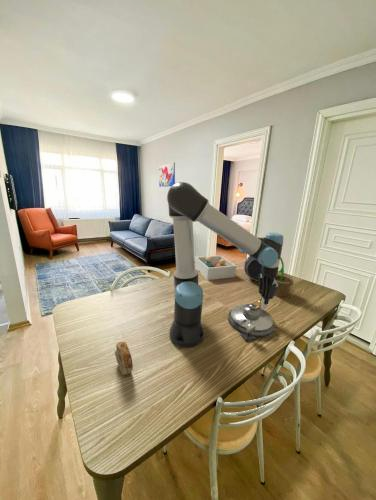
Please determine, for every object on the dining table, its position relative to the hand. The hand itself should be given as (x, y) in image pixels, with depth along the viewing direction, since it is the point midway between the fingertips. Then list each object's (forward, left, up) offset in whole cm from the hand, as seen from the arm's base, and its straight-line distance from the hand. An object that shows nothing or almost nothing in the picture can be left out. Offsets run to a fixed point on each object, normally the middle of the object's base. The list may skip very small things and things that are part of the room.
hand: (263, 308), depth 106 cm
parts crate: (+3, +61, -6) cm, 61 cm away
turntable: (-8, -1, -3) cm, 9 cm away
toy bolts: (+4, +62, -6) cm, 62 cm away
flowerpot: (+29, +20, -6) cm, 36 cm away
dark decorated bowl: (+28, +41, -6) cm, 50 cm away
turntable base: (-8, -1, -6) cm, 10 cm away
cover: (-8, -1, -2) cm, 8 cm away
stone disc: (-69, -11, -6) cm, 70 cm away
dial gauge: (-16, -10, -6) cm, 20 cm away
